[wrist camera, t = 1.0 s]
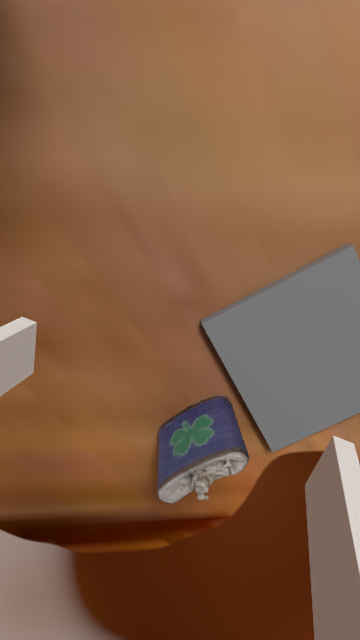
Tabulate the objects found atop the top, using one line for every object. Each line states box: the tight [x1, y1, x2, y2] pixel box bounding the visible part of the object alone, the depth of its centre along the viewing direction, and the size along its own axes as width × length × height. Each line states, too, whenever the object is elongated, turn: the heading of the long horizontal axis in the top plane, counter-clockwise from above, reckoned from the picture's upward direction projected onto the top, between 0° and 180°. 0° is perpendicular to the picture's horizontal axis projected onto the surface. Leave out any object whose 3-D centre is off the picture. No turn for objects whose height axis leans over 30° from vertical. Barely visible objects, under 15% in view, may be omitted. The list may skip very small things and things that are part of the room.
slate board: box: [201, 244, 360, 452], centre depth 35 cm, size 18×16×1 cm
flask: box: [157, 395, 249, 504], centre depth 33 cm, size 9×3×11 cm, turn 121°
